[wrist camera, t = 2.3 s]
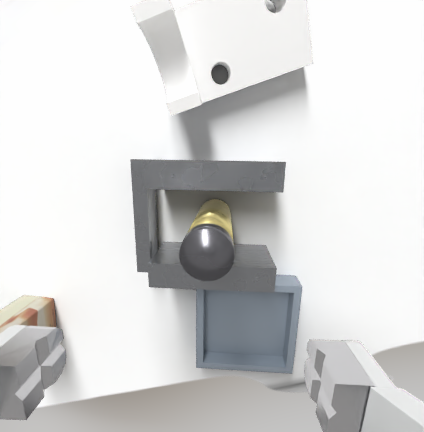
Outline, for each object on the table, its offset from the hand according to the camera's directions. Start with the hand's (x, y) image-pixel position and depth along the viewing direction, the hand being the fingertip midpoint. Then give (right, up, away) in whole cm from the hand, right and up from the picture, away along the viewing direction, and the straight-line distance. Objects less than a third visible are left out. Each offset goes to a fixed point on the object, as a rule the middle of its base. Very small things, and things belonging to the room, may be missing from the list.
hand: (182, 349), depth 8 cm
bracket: (+3, +20, +16) cm, 26 cm away
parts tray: (+5, -8, +22) cm, 24 cm away
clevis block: (0, +5, +19) cm, 20 cm away
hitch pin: (+1, +5, +19) cm, 20 cm away
